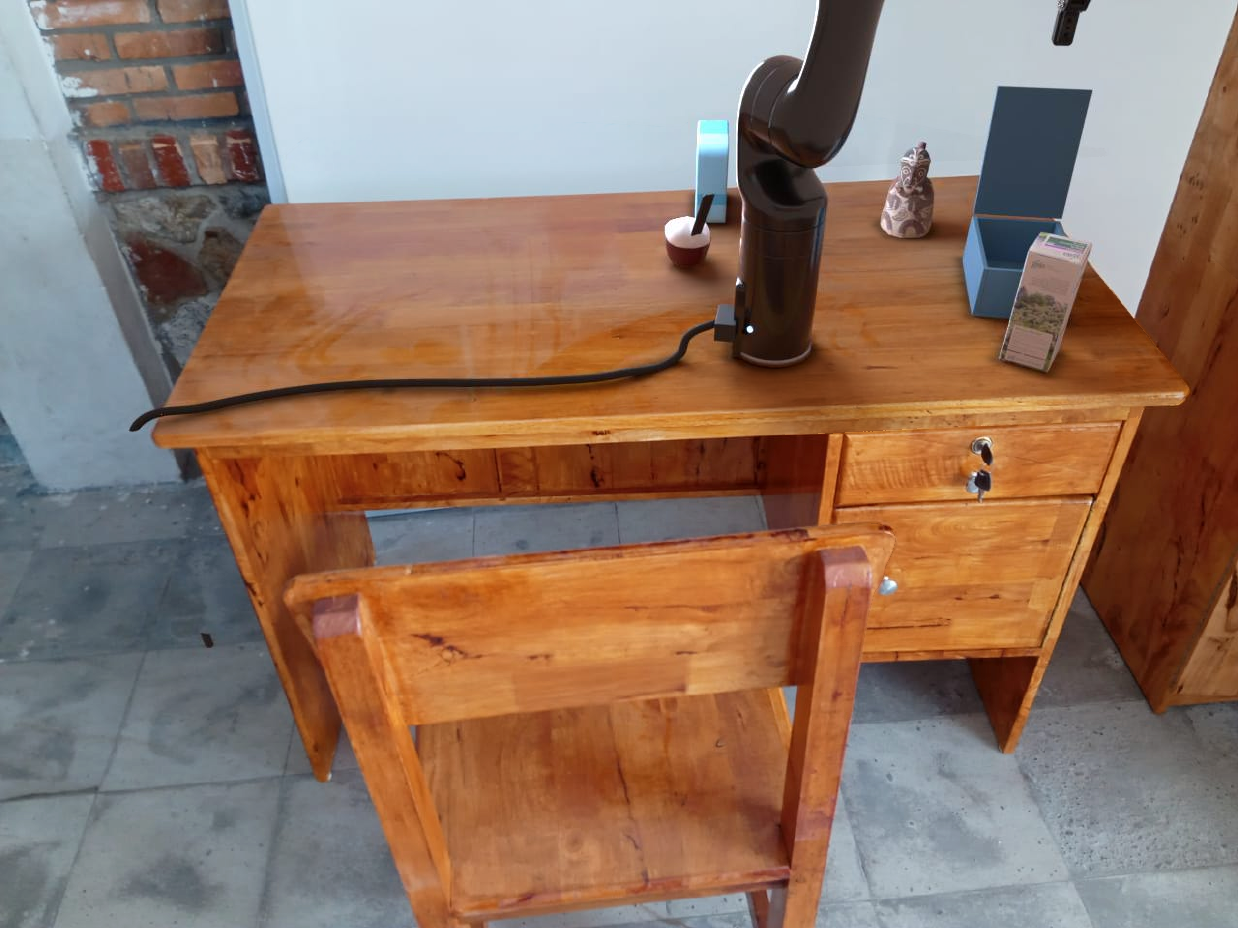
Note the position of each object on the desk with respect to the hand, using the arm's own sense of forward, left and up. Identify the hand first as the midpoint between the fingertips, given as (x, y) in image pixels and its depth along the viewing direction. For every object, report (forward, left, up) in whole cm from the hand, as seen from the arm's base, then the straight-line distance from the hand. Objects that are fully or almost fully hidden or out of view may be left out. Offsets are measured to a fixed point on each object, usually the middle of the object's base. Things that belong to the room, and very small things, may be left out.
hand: (1061, 44), depth 115 cm
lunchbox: (0, -10, -28) cm, 30 cm away
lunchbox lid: (0, -1, -13) cm, 13 cm away
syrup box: (0, -26, -28) cm, 38 cm away
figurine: (-13, +7, -28) cm, 32 cm away
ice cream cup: (-43, -9, -28) cm, 53 cm away
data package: (-42, +9, -28) cm, 52 cm away
